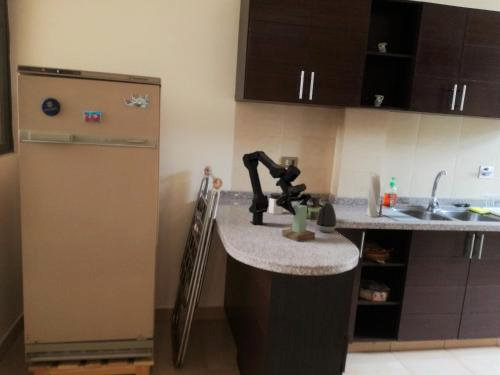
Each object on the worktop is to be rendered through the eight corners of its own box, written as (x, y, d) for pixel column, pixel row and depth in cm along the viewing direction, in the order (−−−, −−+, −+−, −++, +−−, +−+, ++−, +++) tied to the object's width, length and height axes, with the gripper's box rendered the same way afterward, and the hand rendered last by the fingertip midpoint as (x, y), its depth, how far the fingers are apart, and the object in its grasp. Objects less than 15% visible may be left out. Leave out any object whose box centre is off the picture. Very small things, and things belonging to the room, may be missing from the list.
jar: (281, 211, 246) (282, 193, 244) (284, 214, 238) (285, 195, 236) (267, 211, 245) (268, 192, 244) (269, 214, 237) (270, 194, 235)
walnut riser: (281, 237, 186) (282, 230, 186) (298, 234, 193) (299, 227, 192) (297, 242, 177) (298, 235, 177) (314, 239, 184) (315, 232, 184)
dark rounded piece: (314, 228, 205) (315, 200, 202) (333, 229, 204) (335, 201, 202) (316, 233, 194) (318, 203, 192) (337, 234, 194) (339, 204, 192)
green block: (292, 230, 185) (293, 205, 183) (299, 229, 188) (300, 204, 186) (298, 233, 181) (300, 206, 180) (305, 231, 184) (307, 206, 182)
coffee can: (313, 222, 219) (314, 197, 217) (298, 219, 226) (299, 195, 224) (323, 219, 227) (324, 196, 225) (308, 216, 234) (309, 193, 232)
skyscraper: (371, 218, 239) (374, 173, 235) (362, 215, 246) (366, 171, 242) (382, 217, 242) (385, 173, 238) (373, 215, 249) (377, 171, 245)
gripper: (281, 178, 179) (296, 205, 172) (310, 177, 190) (325, 202, 183) (269, 192, 186) (283, 219, 179) (298, 190, 197) (312, 216, 190)
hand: (301, 214), depth 182 cm, fingers open, 8 cm apart
